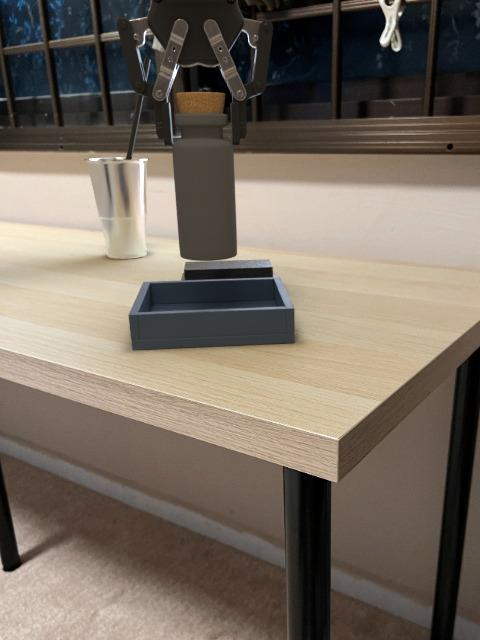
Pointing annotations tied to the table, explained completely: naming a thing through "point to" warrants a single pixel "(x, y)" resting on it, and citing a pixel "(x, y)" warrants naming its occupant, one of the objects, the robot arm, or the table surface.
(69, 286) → the table surface
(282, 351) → the table surface
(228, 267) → the scrub brush
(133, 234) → the glass
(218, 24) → the robot arm
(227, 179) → the bottle
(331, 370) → the table surface
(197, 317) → the tray
